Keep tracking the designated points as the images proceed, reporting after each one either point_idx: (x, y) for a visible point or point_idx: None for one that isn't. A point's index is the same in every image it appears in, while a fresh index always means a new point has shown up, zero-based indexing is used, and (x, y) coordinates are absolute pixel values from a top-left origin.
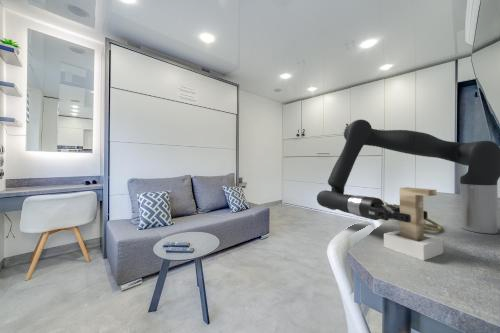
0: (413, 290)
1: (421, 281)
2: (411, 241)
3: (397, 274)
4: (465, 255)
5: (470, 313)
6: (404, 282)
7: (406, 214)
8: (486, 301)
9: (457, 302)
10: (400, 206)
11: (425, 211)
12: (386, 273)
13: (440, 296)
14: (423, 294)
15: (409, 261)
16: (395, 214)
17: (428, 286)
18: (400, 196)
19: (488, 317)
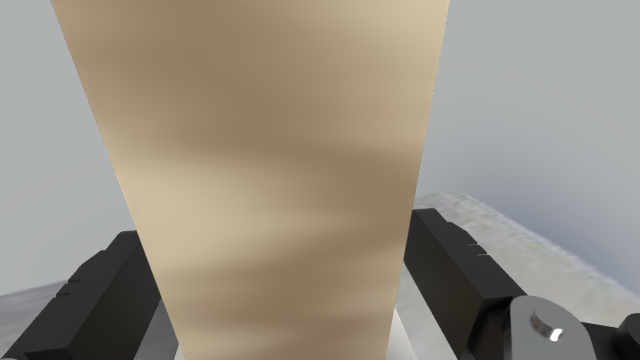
0: (541, 243)
1: (495, 257)
2: (399, 327)
3: (553, 293)
4: (160, 307)
5: (473, 199)
6: (549, 264)
7: (439, 216)
8: (415, 204)
9: (470, 211)
10: (400, 251)
11: (135, 231)
12: (594, 307)
13: (490, 223)
14: (524, 233)
15: (443, 343)
16: (516, 287)
17: (491, 243)
18: (428, 73)
19: (453, 192)
